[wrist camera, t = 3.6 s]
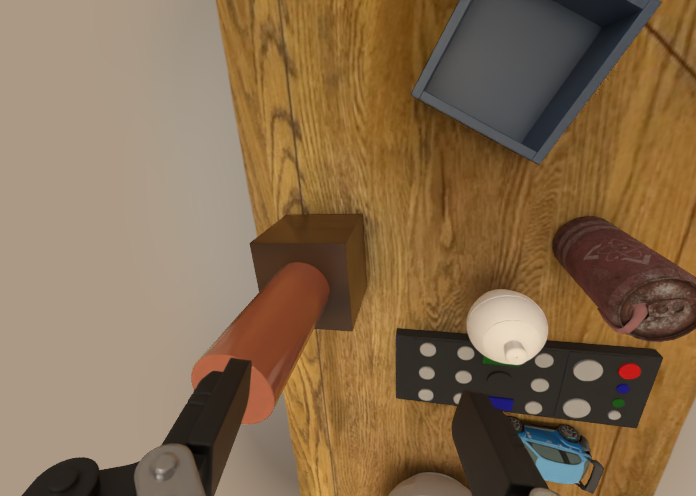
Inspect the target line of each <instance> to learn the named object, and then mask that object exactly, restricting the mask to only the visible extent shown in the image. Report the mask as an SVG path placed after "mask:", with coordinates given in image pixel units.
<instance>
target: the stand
mask: <svg viewBox="0 0 696 496" xmlns="http://www.w3.org/2000/svg"><path fill="white" fill-rule="evenodd" d="M250 247H251V252H252V258H253V263H254V268H255V272H256V278H257V283H258V288H259V292H260V291H261V290H262V289H263V288H264V287H265V286H266V284H267V283H268V282H269V281H270V280H271V279H272V278H273V277H274V275H275V274H276V273H277V272H278V271H279V270H280V269H281V268H282V267H283V266H285V265H287V264H290V263H294V262H301V263H306V264H309V265H311V266H313V267H315V268H317V269H318V270H319V271H320V272H321V273H322V274H323V275H324V276H325V278H326V280H327V282H328V284H329V288H330V296H329V300H328V302H327V304H326V306H325V308H324V310H323V312H322V314H321V316H320V318H319V320H318V322H317V324H316V326H315V328H314V329H326V330H341V331H353V328H354V325H355V322H356V319H357V316H358V313H359V310H360V307H361V303H362V300H363V297H364V294H365V291H366V288H367V275H366V258H365V242H364V225H363V214H312V215H286V216H284V217H283V218H282V219H280V220H279V221H278V222H276V223H275V224H274V225H273V226H271V227H270V228H269V229H267V230H266V231H265V232H264V233H262V234H261V235H260V236H258V237H257V238H256V239H255V240H253V241H252V242H251V243H250Z"/></svg>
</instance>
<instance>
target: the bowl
mask: <svg viewBox="0 0 696 496" xmlns="http://www.w3.org/2000/svg"><path fill="white" fill-rule="evenodd" d="M388 496H472V493H471V490H469V489H468V488H466V487H465V486H463V485H462V484H461V483H460V482H459V481H457V480H456V479H454V478H452V477H450V476H447V475H444V474H440V473H434V472H424V473H419V474H416V475H413V476H412V477H410V478H409V479H406V480H404V481H402V482H401V483H399V484H398V485H397V486H396V487H395V488H394V489H393V490H392V491H391V492H390V494H389V495H388Z"/></svg>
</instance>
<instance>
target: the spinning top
mask: <svg viewBox="0 0 696 496" xmlns="http://www.w3.org/2000/svg"><path fill="white" fill-rule="evenodd" d="M467 333H468V336H469V338H470V341H471V342H472V344H473V345H474V347H475V348H476V349H477V350H478V351H479V352H480V353H481V354H483V355H484V356H486V357H487V358H489V359H491V360H494V361H496V362H500V363H504V364H513V365H521V364H523V363H525V362H526V361H528V360H530V359H532V358H533V357H534V356H535V355H537V354H538V353H539V352H540V351H541V349H542V348H543V346H544V345H545V343H546V340H547V336H548V323H547V319H546V316H545V314H544V312H543V311H542V309H541V308H540V307H539V306H538V305H537V304H536V303H535V302H534V301H533V300H532V299H531V298H529V297H527V296H526V295H523V294H521V293H519V292H515V291H511V290H505V289H497V290H492V291H489V292H487V293H485V294H483V295H482V296H481V297H479V298H478V299H477V300H476V301H475V303H474V304H473V305H472V307H471V308H470V310H469V313H468V316H467Z"/></svg>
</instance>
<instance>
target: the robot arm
mask: <svg viewBox="0 0 696 496" xmlns="http://www.w3.org/2000/svg"><path fill="white" fill-rule="evenodd" d="M251 368H252V361H251V360H244V359H237V358H230V360H229V361H228V363H227V365H226V367H225V369H224V371H223V372H221V371H211V372H210V373H209V374H208V375H206V376H205V377H204V378H202V379H201V380H200V382H199V384H198V385H197V387H196V389H195V390H194V393H193V394H192V395H191V397H190V399H189V400H188V403H187V404H186V405H185V407H184V409H183V410H182V412H181V414H180V415H179V417H178V419H177V420H176V422H175V424H174V425H173V427H172V429H171V430H170V432H169V434H168V435H167V437H166V439H165V440H164V442H163V443H162V445H161V446H159V447H157V448H155V449H153V450H151V451H150V452H149V453H147V454H146V455H145V456H144V457H143V458H142V459H141V460H140V461H139V462H137V463H134V464H130V465H126V466H121V467H115V468H109V469H104V470H99V467H98V465H97V464H96V462H95V461H93V460H92V459H89V458H72V459H69V460H65V461H62V462H60V463H58V464H56V465H54V466H52V467H50V468H49V469H47V470H46V471H45V472H43V473H42V474H41V475H40V476H38V477H37V479H36V480H35V481H34V482H33V483H32V484H31V485H30V486H29V488H28V489H27V490H26V491H25V492H24V494H23V495H22V496H214V494H215V492H216V489H217V486H218V484H219V481H220V478H221V475H222V473H223V470H224V468H225V465H226V462H227V460H228V457H229V454H230V451H231V449H232V446H233V443H234V441H235V438H236V435H237V433H238V430H239V427H240V425H241V422H242V419H243V417H244V414H245V411H246V408H247V404H248V399H249V393H250V380H251ZM518 435H519V434H518V432H517V431H516V429H515V427H514V425H513V423H512V422H511V420H510V419H509V418H508V417H507V416H506V415H505V414H504V413H503V412H502V411H501V410H500V409H495V408H494V407H493V405H492V403H491V401H490V399H489V397H488V395H487V394H486V393H484V392H478V391H470V390H464V391H463V392H462V394H461V397H460V400H459V403H458V406H457V409H456V412H455V415H454V418H453V421H452V436H453V440H454V443H455V446H456V449H457V452H458V455H459V458H460V461H461V464H462V467H463V470H464V473H465V476H466V479H467V482H468V485H469V488H470V490H471V493H472V496H560V495H559V494H557V493H555V492H554V491H551V490H549V488H548V486H547V484H546V482H545V481H544V479H543V477H542V475H541V474H540V472H539V470H538V468H537V466H536V465H535V463H534V461H533V459H532V457H531V456H530V454H529V452H528V450H527V449H526V448H525V445H524V443H523V441H522V440H521V438H520V437H519V436H518Z"/></svg>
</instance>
